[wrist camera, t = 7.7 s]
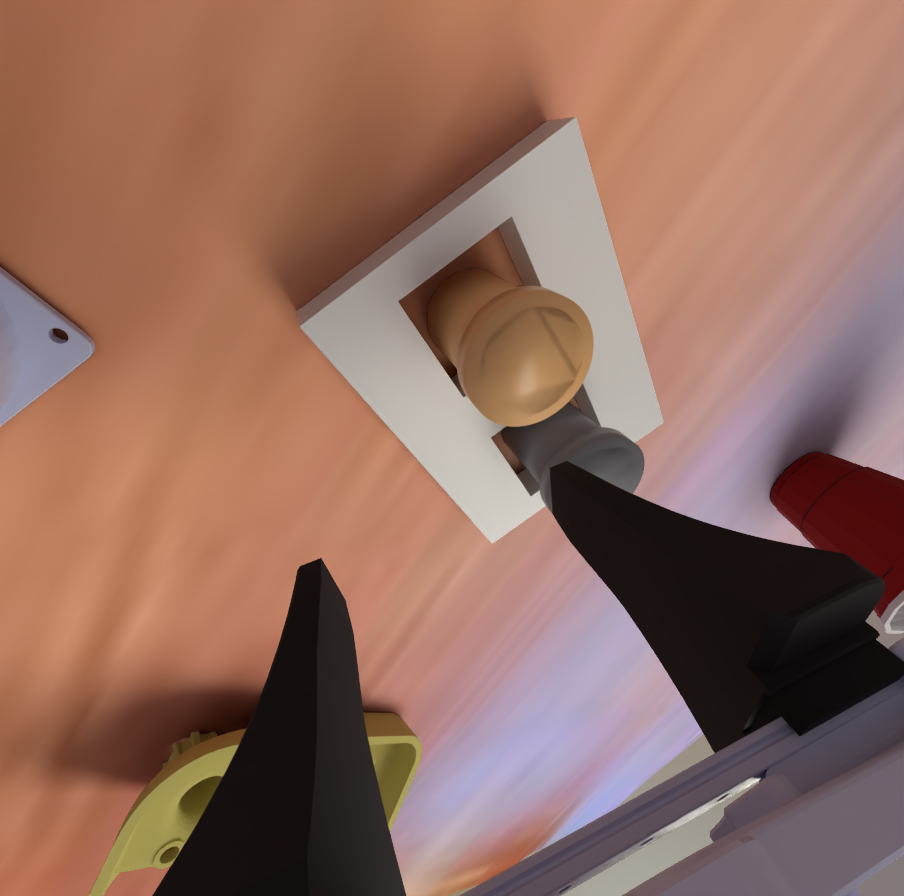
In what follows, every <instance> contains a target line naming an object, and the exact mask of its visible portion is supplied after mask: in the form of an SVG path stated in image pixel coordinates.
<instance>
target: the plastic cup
mask: <svg viewBox="0 0 904 896" xmlns="http://www.w3.org/2000/svg"><path fill="white" fill-rule="evenodd" d="M770 500H771V502H772V504H773V505H774V506H775V507H776V508H777V510H778V511H779V512H780V513H781V514H782V515H783V516H784V517H785V518H786V519H787V520H788V521H790V522H791V523H792V524H793V525H794V526H795V527H796V528H797V529H798V530H799V531H800V532H801V533H802V535H803V536H804V537H805V538H806V539H807V540H808V541H809V542H810V543H811V544H812V545H813V546H814V547H815V548H816V549H821V550H827V551H834V552H840V553H845V554H846V555H848V556H849V557H851V558H852V559H854V560H855V561H857V562H858V563H860V564H861V565H863V566H864V567H865V568H867V569H868V570H870V571H871V572H873V573H874V574H876V575H877V576H879V577H880V578H882V579H883V581H884V582H885V592H884V594H883V596H882V597H881V599H880V601H879V602H878V604H877V605H876V606H875V608H874V609H873V610H874V611H875V612H876V613H877V616H878V617H879V618H880V622H881V625H882V628H883V629H884V631H885V632H886V633H894V634H900V633H903V632H904V480H902V479H899V478H897V477H894V476H891V475H888V474H886V473H883V472H880V471H878V470H875V469H872V468H869V467H863V466H860V465H857V464H855V463H852V462H849V461H847V460H844V459H841V458H838V457H836V456H833V455H830V454H824V453H821V452H814V453H809V454H807V455H805V456H804V457H802V458H800V459H798V460H797V461H796V462H794V463H793V464H792V465H791V466H790V467H788V468H787V469H786V470H785V471H784V473H783V474H782V475H781V476H780V477H779V478H778V480H777V481H776V483H775V485H774V487H773V489H772V491H771V496H770Z"/></svg>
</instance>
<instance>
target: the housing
mask: <svg viewBox="0 0 904 896" xmlns="http://www.w3.org/2000/svg"><path fill="white" fill-rule="evenodd" d="M497 227H498V230H499V232H500V234H501V236H502V238H503V241H504V243H505V245H506V247H507V249H508V252H509V254H510V256H511V258H512V260H513V263H514V265H515V267H516V269H517V271H518V274H519V276H520V278H521V280H522V282H523V285H524V286H539V287H544V288H547V289H550V290H552V291H554V292H556V293H558V294H560V295H563V296H565V297H567V298H569V299H570V300H572V301H574V302H575V303H576V304H577V305H579V306H580V308H581V309H582V310H583V311H584V312H585V314H586V316H587V317H588V319H589V322H590V324H591V328H592V332H593V340H594V348H593V356H592V361H591V365H590V368H589V370H588V373H587V375H586V377H585V379H584V381H583V383H582V385H581V386H580V388H579V390H578V391H577V392H576V394H575V395H574V397H575V399H576V401H577V404H578V406H579V408H580V410H581V412H582V413H583V414H585V415H586V416H587V417H588V418H589V419H591V420H592V421H593V422H594V423H596V424H597V425H598V426H599V427H607V428H613V429H616V430H618V431H620V432H621V433H622V434H624V435H625V436H626V437H628V438H629V439H630V440H631V441H633V442H634V443H635V442H637V441H638V440H640V439H641V438H642V437H644V436H645V435H647V434H648V433H650V432H651V431H652V430H654V429H655V428H657V427H658V426H659V425H661V424H662V423H664V421H663V418H662V414H661V411H660V407H659V404H658V401H657V397H656V394H655V390H654V387H653V383H652V380H651V376H650V373H649V369H648V366H647V362H646V359H645V355H644V352H643V348H642V345H641V341H640V338H639V334H638V331H637V327H636V324H635V320H634V317H633V313H632V310H631V306H630V303H629V299H628V296H627V292H626V289H625V285H624V282H623V278H622V275H621V271H620V268H619V264H618V261H617V257H616V254H615V251H614V247H613V244H612V240H611V237H610V233H609V230H608V226H607V223H606V219H605V216H604V212H603V209H602V205H601V202H600V198H599V195H598V191H597V188H596V184H595V181H594V177H593V174H592V170H591V167H590V163H589V160H588V156H587V153H586V149H585V146H584V142H583V139H582V135H581V132H580V128H579V125H578V121H577V118H576V117H571V118H564V119H556V120H549V121H546V122H545V123H543V124H542V125H541V126H539V127H538V128H537V129H535V130H534V131H533V132H531V133H530V134H529V135H528V136H526V137H525V138H524V139H522V140H521V141H520V142H518V143H517V144H516V145H514V146H513V147H512V148H510V149H509V150H508V151H507V152H505V153H504V154H503V155H501V156H500V157H499V158H497V159H496V160H495V161H493V162H492V163H491V164H489V165H488V166H487V167H485V168H484V169H483V170H482V171H480V172H479V173H478V174H476V175H475V176H474V177H472V178H471V179H470V180H468V181H467V182H466V183H464V184H463V185H462V186H460V187H459V188H458V189H457V190H455V191H454V192H453V193H451V194H450V195H449V196H447V197H446V198H445V199H443V200H442V201H441V202H439V203H438V204H437V205H436V206H434V207H433V208H432V209H430V210H429V211H428V212H426V213H425V214H424V215H422V216H421V217H420V218H418V219H417V220H416V221H414V222H413V223H412V224H411V225H409V226H408V227H407V228H405V229H404V230H403V231H401V232H400V233H399V234H397V235H396V236H395V237H393V238H392V239H391V240H389V241H388V242H387V243H386V244H384V245H383V246H382V247H380V248H379V249H378V250H376V251H375V252H374V253H372V254H371V255H370V256H368V257H367V258H366V259H365V260H363V261H362V262H361V263H359V264H358V265H357V266H355V267H354V268H353V269H351V270H350V271H349V272H347V273H346V274H345V275H343V276H342V277H341V278H340V279H338V280H337V281H336V282H334V283H333V284H332V285H330V286H329V287H328V288H326V289H325V290H324V291H322V292H321V293H320V294H319V295H317V296H316V297H315V298H313V299H312V300H311V301H309V302H308V303H307V304H305V305H304V306H303V307H301V308H300V309H299V310H297V316H298V322H299V327H300V328H301V329H302V330H303V331H304V332H305V333H306V335H307V336H308V337H309V338H310V339H311V340H312V341H313V342H314V344H315V345H316V346H317V347H318V348H319V349H320V350H321V351H322V353H323V354H324V355H325V356H326V357H327V358H328V359H329V361H330V362H331V363H332V364H333V365H334V366H335V367H336V368H337V370H338V371H339V372H340V373H341V374H342V375H343V376H344V377H345V379H346V380H347V381H348V382H349V383H350V384H351V385H352V386H353V388H354V389H355V390H356V391H357V392H358V393H359V394H360V395H361V397H362V398H363V399H364V400H365V401H366V402H367V403H368V404H369V406H370V407H371V408H372V409H373V410H374V411H375V412H376V413H377V415H378V416H379V417H380V418H381V419H382V420H383V421H384V422H385V424H386V425H387V426H388V427H389V428H390V429H391V430H392V431H393V433H394V434H395V435H396V436H397V437H398V438H399V439H400V440H401V442H402V443H403V444H404V445H405V446H406V447H407V448H408V449H409V451H410V452H411V453H412V454H413V455H414V456H415V457H416V458H417V460H418V461H419V462H420V463H421V464H422V465H423V466H424V467H425V469H426V470H427V471H428V472H429V473H430V474H431V475H432V476H433V478H434V479H435V480H436V481H437V482H438V483H439V484H440V485H441V487H442V488H443V489H444V490H445V491H446V492H447V493H448V494H449V496H450V497H451V498H452V499H453V500H454V501H455V502H456V503H457V505H458V506H459V507H460V508H461V509H462V510H463V511H464V513H465V514H466V515H467V516H468V517H469V518H470V519H471V520H472V522H473V523H474V524H475V525H476V526H477V527H478V528H479V529H480V531H481V532H482V533H483V534H484V535H485V536H486V537H487V538H488V540H489V541H490V542H491V543H492V544H493V543H494V542H495V541H497V540H498V539H500V538H501V537H502V536H504V535H505V534H507V533H508V532H509V531H511V530H512V529H514V528H515V527H517V526H518V525H519V524H521V523H522V522H524V521H525V520H526V519H528V518H529V517H531V516H532V515H534V514H535V513H536V512H538V511H539V510H541V509H542V508H543V507H545V506H546V505H545V504H544V502H543V500H542V499H541V495H540V484H539V483H538V482H537V481H536V479H535V478H534V477H533V476H532V475H531V473H530V472H529V471H528V470H527V469H524V470H523V471H522V472H520V473H519V474H517V475H516V474H515V473H514V471H513V470H512V468H511V467H510V465H509V464H508V462H507V461H506V459H505V458H504V456H503V455H502V453H501V452H500V451H499V449H498V448H497V446H496V445H495V443H494V442H493V440H492V439H491V437H492V436H494V435H495V434H496V433H498V432H499V431H501V430H502V429H503V428H505V427H506V426H504V425H500V424H497V423H495V422H493V421H491V420H489V419H488V418H486V417H485V416H483V415H482V414H481V413H480V412H479V410H478V409H477V408H476V407H475V406H474V404H473V403H472V402H471V401H470V400H469V398H468V397H467V396H466V394H465V393H464V391H463V389H462V387H461V385H460V382H459V379H458V374H456V375H455V376H454V377H452V378H451V379H450V377H449V376H448V374H447V373H446V371H445V370H444V368H443V367H442V365H441V364H440V363H439V361H438V360H437V358H436V357H435V355H434V354H433V352H432V351H431V349H430V348H429V346H428V345H427V343H426V342H425V341H424V339H423V338H422V336H421V335H420V333H419V332H418V330H417V329H416V327H415V326H414V324H413V323H412V321H411V320H410V319H409V317H408V316H407V314H406V313H405V311H404V310H403V308H402V307H401V305H400V304H399V302H398V301H399V300H401V299H402V298H403V297H405V296H406V295H407V294H409V293H410V292H411V291H413V290H414V289H415V288H417V287H418V286H419V285H421V284H422V283H423V282H425V281H426V280H427V279H429V278H430V277H431V276H433V275H434V274H435V273H437V272H438V271H439V270H441V269H442V268H443V267H445V266H446V265H447V264H449V263H450V262H451V261H453V260H454V259H455V258H457V257H458V256H459V255H461V254H462V253H463V252H465V251H466V250H467V249H469V248H470V247H471V246H473V245H474V244H475V243H477V242H478V241H479V240H481V239H482V238H483V237H485V236H486V235H487V234H489V233H490V232H491V231H493V230H494V229H495V228H497Z"/></svg>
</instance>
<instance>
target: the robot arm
mask: <svg viewBox="0 0 904 896" xmlns="http://www.w3.org/2000/svg"><path fill="white" fill-rule="evenodd" d="M53 328H59V329H61V330H63V331H65V332H66V333H67V334H68V338H69V339H68V340H63V339H60V338H58V337H56V336H55V334H54V333H53ZM94 351H95V344H94V342H93V340H92V339H91V338H90V337H89V336H88V335H87V334H86V333H85V332H83V331H82V330H81V329H80V328H78V327H77V326H76V325H74V324H73V323H72V322H71V321H69V320H68V319H67V318H65V317H64V316H63V315H62V314H60V313H59V312H58V311H56V310H55V309H54V308H53V307H51V306H50V305H49V304H47V303H46V302H45V301H44V300H42V299H41V298H40V297H38V296H37V295H36V294H35V293H33V292H32V291H31V290H29V289H28V288H27V287H26V286H24V285H23V284H22V283H20V282H19V281H18V280H17V279H15V278H14V277H13V276H11V275H10V274H9V273H8V272H6V271H5V270H4V269H2V268H1V267H0V427H1V426H2V425H3V424H4V423H6V422H7V421H8V420H10V419H11V418H12V417H13V416H15V415H16V414H17V413H19V412H20V411H21V410H22V409H24V408H25V407H26V406H28V405H29V404H30V403H31V402H33V401H34V400H35V399H37V398H38V397H39V396H40V395H42V394H43V393H44V392H46V391H47V390H48V389H49V388H51V387H52V386H53V385H55V384H56V383H57V382H58V381H60V380H61V379H62V378H64V377H65V376H66V375H67V374H69V373H70V372H71V371H73V370H74V369H75V368H76V367H78V366H79V365H80V364H82V363H83V362H84V361H85V360H87V359H88V358H89V357H90V356H91V355H92V354H93V352H94ZM550 482H551V498H552V513H553V515H554V517H555V519H556V520H557V522H558V524H559V525H560V527H561V528H562V530H563V531H564V533H565V534H566V536H567V538H568V539H569V541H570V542H571V543H572V544H573V546H574V547H575V548H576V549H577V550H578V552H579V553H580V554H581V555H582V556H583V558H584V559H585V560H586V561H587V563H588V564H589V565H590V566H591V567H592V568H593V570H594V571H595V572H596V573H597V574H598V576H599V577H600V578H601V579H602V580H603V582H604V583H605V584H606V585H607V586H608V588H609V589H610V590H611V591H612V592H613V594H614V595H615V596H616V597H617V599H618V600H619V601H620V603H621V604H622V605H623V606H624V608H625V609H626V611H627V612H628V614H629V615H630V617H631V618H632V619H633V621H634V622H635V624H636V625H637V627H638V628H639V630H640V631H641V633H642V634H643V636H644V637H645V639H646V640H647V642H648V643H649V645H650V646H651V648H652V649H653V651H654V653H655V654H656V656H657V657H658V659H659V660H660V662H661V663H662V665H663V666H664V668H665V670H666V671H667V673H668V675H669V676H670V678H671V679H672V681H673V683H674V684H675V686H676V688H677V689H678V691H679V692H680V694H681V696H682V697H683V699H684V701H685V702H686V704H687V706H688V708H689V709H690V711H691V713H692V714H693V716H694V718H695V720H696V721H697V723H698V725H699V726H700V728H701V730H702V732H703V733H704V735H705V737H706V738H707V740H708V742H709V744H710V746H711V747H712V749H713V751H714V752H715V754H713V755H711V756H709V757H708V758H706V759H704V760H702V761H700V762H699V763H697V764H695V765H693V766H691V767H690V768H688V769H686V770H684V771H682V772H681V773H679V774H677V775H675V776H674V777H672V778H670V779H668V780H666V781H665V782H663V783H661V784H659V785H658V786H656V787H654V788H652V789H650V790H649V791H647V792H645V793H643V794H641V795H639V796H638V797H636V798H634V799H632V800H630V801H629V802H627V803H625V804H623V805H621V806H620V807H618V808H616V809H614V810H612V811H611V812H609V813H607V814H605V815H603V816H602V817H600V818H598V819H596V820H594V821H593V822H591V823H589V824H587V825H585V826H584V827H582V828H580V829H578V830H577V831H575V832H573V833H571V834H569V835H568V836H566V837H564V838H562V839H560V840H559V841H557V842H555V843H553V844H551V845H550V846H548V847H546V848H544V849H542V850H541V851H539V852H537V853H535V854H534V855H532V856H530V857H528V858H527V859H524V860H523V861H521V862H519V863H517V864H515V865H514V866H512V867H510V868H508V869H506V870H505V871H503V872H501V873H499V874H497V875H496V876H494V877H492V878H490V879H489V880H487V881H485V882H483V883H481V884H480V885H478V886H476V887H475V888H472V889H471V890H469V891H467V892H465V893H463V894H462V895H460V896H561V895H562V894H564V893H566V892H568V891H569V890H571V889H573V888H575V887H576V886H578V885H580V884H581V883H583V882H585V881H587V880H588V879H590V878H592V877H593V876H595V875H597V874H599V873H600V872H602V871H604V870H605V869H607V868H609V867H611V866H612V865H614V864H616V863H618V862H619V861H621V860H623V859H624V858H626V857H628V856H630V855H631V854H633V853H635V852H636V851H638V850H640V849H642V848H643V847H645V846H646V845H648V844H650V843H652V842H654V841H655V840H657V839H659V838H661V837H662V836H664V835H666V834H667V833H669V832H671V831H673V830H674V829H676V828H678V827H679V826H681V825H683V824H684V823H686V822H688V821H690V820H691V819H693V818H695V817H697V816H698V815H700V814H702V813H703V812H705V811H707V810H709V809H711V808H712V807H714V806H716V805H717V804H719V803H721V802H722V801H724V800H726V799H728V798H729V797H731V796H733V795H735V794H736V793H738V792H740V791H741V790H743V789H745V788H747V787H748V786H750V785H752V784H753V783H755V782H757V781H759V780H760V781H759V783H758V784H757V785H755V786H754V787H753V788H751V789H750V790H749V791H747V792H746V793H745V794H743V795H742V796H741V797H739V798H738V799H736V800H735V801H733V802H732V803H731V804H729V805H728V806H727V807H725V808H724V816H723V817H722V819H721V821H720V822H719V823H718V824H717V825H716V826H715V827H714V828H713V829H712V830H711V831H710V837H711V839H712V840H713V842H714V843H712V844H710V845H708V846H706V847H705V848H703V849H701V850H699V851H697V852H695V853H693V854H692V855H690V856H688V857H686V858H685V859H683V860H681V861H679V862H678V863H676V864H674V865H673V866H671V867H669V868H667V869H666V870H664V871H662V872H660V873H659V874H657V875H655V876H654V877H652V878H650V879H649V880H647V881H645V882H644V883H642V884H640V885H639V886H637V887H636V888H634V889H632V890H631V891H629V892H627V893H626V894H624V895H622V896H862V895H861V894H860V893H859V891H858V890H857V889H856V887H857V886H859V885H860V884H862V883H863V882H865V881H866V880H868V879H869V878H870V877H872V876H873V875H875V874H876V873H878V872H879V871H880V870H882V869H883V868H885V867H886V866H887V865H889V864H890V863H892V862H893V861H895V860H896V859H897V858H899V857H900V856H902V855H903V854H904V638H902V639H901V640H899V641H897V642H896V643H895V644H893V645H892V646H891V647H890V648H889V649H887V648H886V647H885V646H883V645H882V644H881V643H880V642H878V641H877V640H876V638H878V636H879V633H878V631H877V630H876V629H874V628H873V627H872V626H870V625H869V624H868V623H867V622H865V621H866V619H867V618H868V616H869V615H870V614H871V612H872V611H873V609H874V608H875V606H876V605H877V604H878V602H879V601H880V599H881V597H882V596H883V594H884V592H885V582H884V581H883V579H882V578H880V577H879V576H877V575H876V574H874V573H873V572H871V571H870V570H868V569H867V568H865V567H864V566H863V565H861V564H860V563H858V562H857V561H855V560H854V559H852V558H851V557H849V556H848V555H846V554H845V553H840V552H834V551H827V550H821V549H815V548H809V547H803V546H797V545H792V544H787V543H782V542H777V541H773V540H768V539H763V538H759V537H755V536H751V535H747V534H743V533H739V532H736V531H732V530H729V529H725V528H721V527H718V526H715V525H711V524H708V523H705V522H702V521H699V520H696V519H693V518H690V517H688V516H685V515H682V514H679V513H676V512H674V511H671V510H668V509H666V508H664V507H661V506H659V505H656V504H654V503H652V502H649V501H647V500H645V499H642V498H640V497H638V496H636V495H634V494H631V493H629V492H627V491H625V490H623V489H621V488H619V487H617V486H615V485H613V484H611V483H609V482H607V481H605V480H603V479H601V478H599V477H597V476H595V475H593V474H592V473H590V472H588V471H586V470H584V469H582V468H580V467H578V466H576V465H574V464H572V463H570V462H568V461H565V462H563V463H560V464H558V465H555V466H553V467H550ZM153 896H406V893H405V889H404V885H403V882H402V878H401V874H400V870H399V866H398V862H397V859H396V855H395V851H394V847H393V843H392V839H391V835H390V831H389V827H388V823H387V819H386V815H385V811H384V806H383V802H382V798H381V794H380V789H379V785H378V781H377V776H376V772H375V768H374V763H373V759H372V754H371V750H370V745H369V741H368V736H367V732H366V726H365V720H364V714H363V706H362V698H361V690H360V682H359V673H358V665H357V657H356V649H355V641H354V634H353V629H352V625H351V621H350V617H349V613H348V609H347V605H346V601H345V599H344V597H343V595H342V593H341V592H340V590H339V588H338V587H337V585H336V583H335V581H334V580H333V578H332V576H331V574H330V573H329V571H328V569H327V567H326V566H325V564H324V562H323V560H322V559H321V558H320V559H317V560H315V561H312V562H310V563H307V564H305V565H302V566H300V567H299V569H298V571H297V576H296V581H295V585H294V590H293V594H292V599H291V603H290V607H289V611H288V615H287V618H286V622H285V625H284V629H283V632H282V635H281V639H280V642H279V645H278V649H277V651H276V654H275V657H274V660H273V663H272V666H271V669H270V672H269V675H268V678H267V680H266V683H265V686H264V688H263V691H262V693H261V696H260V698H259V701H258V703H257V706H256V708H255V710H254V713H253V715H252V717H251V720H250V722H249V724H248V726H247V728H246V730H245V733H244V735H243V737H242V739H241V741H240V743H239V745H238V748H237V750H236V752H235V754H234V756H233V758H232V760H231V762H230V764H229V766H228V768H227V770H226V772H225V774H224V775H223V777H222V779H221V781H220V783H219V785H218V786H217V788H216V790H215V792H214V794H213V795H212V797H211V799H210V801H209V803H208V805H207V806H206V808H205V810H204V812H203V814H202V816H201V817H200V819H199V821H198V823H197V824H196V826H195V828H194V829H193V831H192V833H191V834H190V836H189V838H188V839H187V841H186V843H185V844H184V846H183V847H182V849H181V851H180V852H179V854H178V856H177V857H176V859H175V860H174V862H173V864H172V865H171V867H170V868H169V870H168V872H167V873H166V875H165V877H164V878H163V880H162V881H161V883H160V885H159V886H158V888H157V889H156V891H155V892H154V894H153Z"/></svg>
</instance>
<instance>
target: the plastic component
mask: <svg viewBox="0 0 904 896" xmlns="http://www.w3.org/2000/svg"><path fill="white" fill-rule="evenodd" d="M363 714H364V720H365V726H366V732H367V736H368V741H369V745H370V750H371V754H372V759H373V763H374V768H375V772H376V776H377V781H378V785H379V789H380V794H381V798H382V802H383V806H384V811H385V815H386V819H387V823H388V827H389V831H390V830H391V828H392V826H393V823H394V821H395V819H396V817H397V814H398V812H399V810H400V807H401V805H402V803H403V800H404V798H405V796H406V793H407V791H408V789H409V786H410V784H411V782H412V780H413V777H414V775H415V773H416V770H417V768H418V766H419V763H420V760H421V756H422V745H421V742H420V740H419V739H418V738H417V736H416V735H415V734H414V733H413V732H412V730H411V729H410V728H409V727H408V725H407V724H406V723H405V722H404V721H403V719H402V718H401V717H400V716H398V715H397V714H395V713H372V712H363ZM245 730H246V729H241V730H237V731H233V732H229V733H226V734H223V735H220V736H217V733H215V732H210V733H208V734H200V733H199V731H197V732H192V733H191V734H190V737H189V738H187V739H185V740H184V741H183V742H181V743H179V742H176V743H175V744H174V745H173V746H172V748H173V752H172V753H171V755H170V757H169V760H168V761H167V762H165V763H163V769H162V770H161V771H160V772H159V773H158V774H157V775H156V776H155V777H154V778H153V779H152V780H151V781H150V782H149V784H148V785H147V786H146V787H145V788H144V790H143V791H142V792H141V794H140V795H139V796H138V798H137V799H136V801H135V803H134V804H133V806H132V808H131V809H130V811H129V813H128V815H127V817H126V819H125V820H124V823H123V825H122V827H121V829H120V831H119V833H118V835H117V837H116V840H115V842H114V844H113V847H112V849H111V851H110V853H109V855H108V857H107V859H106V861H105V863H104V866H103V868H102V870H101V872H100V874H99V876H98V878H97V880H96V882H95V884H94V886H93V888H92V890H91V892H90V894H89V896H103V895H104V893H105V892H106V890H107V888H108V887H109V886H110V884H111V883H112V881H113V880H114V879H115V877H116V876H117V875H118V874H119V873H121V872H126V871H131V870H136V869H141V868H147V867H152V866H155V868H156V869H164V868H167V867H169V866H171V865H172V864H173V862H174V860H175V859H176V857H177V856H178V854H179V852H180V851H181V849H182V847H183V846H184V844H185V843H186V841H187V839H188V838H189V836H190V834H191V833H192V831H193V829H194V828H195V826H196V824H197V823H198V821H199V819H200V817H201V816H202V814H203V812H204V810H205V808H206V806H207V805H208V803H209V801H210V799H211V797H212V795H213V794H214V792H215V790H216V788H217V786H218V785H219V783H220V781H221V779H222V777H223V775H224V774H225V772H226V770H227V768H228V766H229V764H230V762H231V760H232V758H233V756H234V754H235V752H236V750H237V748H238V745H239V743H240V741H241V739H242V737H243V735H244V733H245Z"/></svg>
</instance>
